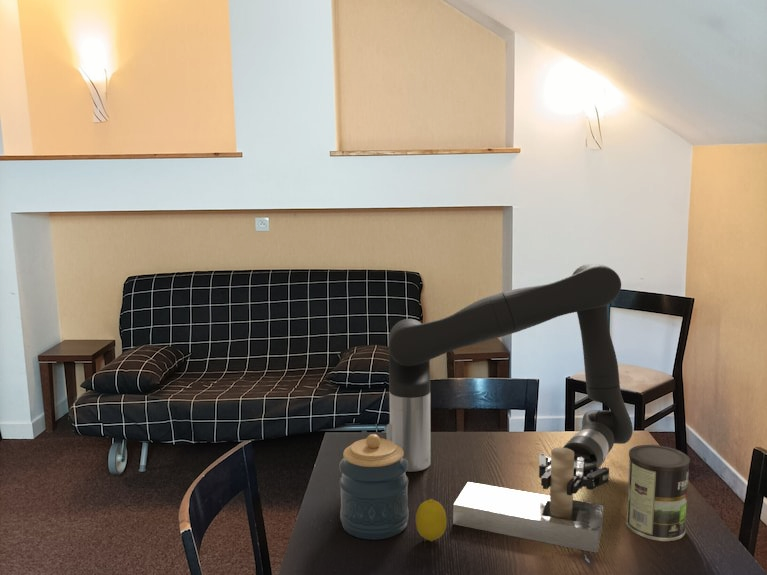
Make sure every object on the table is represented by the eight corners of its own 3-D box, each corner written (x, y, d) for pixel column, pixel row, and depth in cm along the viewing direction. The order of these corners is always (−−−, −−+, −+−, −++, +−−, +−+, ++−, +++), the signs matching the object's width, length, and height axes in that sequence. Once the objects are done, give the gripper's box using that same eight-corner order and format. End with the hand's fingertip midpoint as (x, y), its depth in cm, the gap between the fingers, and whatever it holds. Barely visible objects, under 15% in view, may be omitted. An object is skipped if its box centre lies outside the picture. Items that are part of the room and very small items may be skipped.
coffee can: (689, 521, 123) (693, 450, 121) (681, 547, 114) (685, 472, 112) (631, 508, 128) (635, 440, 126) (619, 532, 120) (623, 459, 117)
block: (453, 524, 123) (453, 504, 122) (467, 500, 132) (467, 481, 132) (597, 553, 113) (598, 531, 112) (602, 525, 122) (603, 505, 121)
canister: (396, 546, 116) (395, 452, 113) (329, 535, 120) (327, 444, 117) (416, 511, 128) (416, 426, 125) (355, 502, 132) (353, 419, 129)
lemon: (449, 535, 119) (449, 494, 118) (442, 551, 114) (442, 509, 113) (420, 530, 121) (420, 490, 120) (412, 546, 116) (411, 504, 115)
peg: (547, 527, 119) (549, 454, 117) (551, 516, 123) (553, 446, 120) (570, 531, 118) (572, 458, 115) (573, 520, 121) (575, 449, 119)
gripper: (550, 428, 134) (519, 458, 120) (622, 442, 126) (598, 476, 112) (549, 462, 135) (518, 496, 121) (620, 479, 127) (596, 517, 113)
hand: (556, 487), depth 116 cm, fingers closed on peg, 3 cm apart
